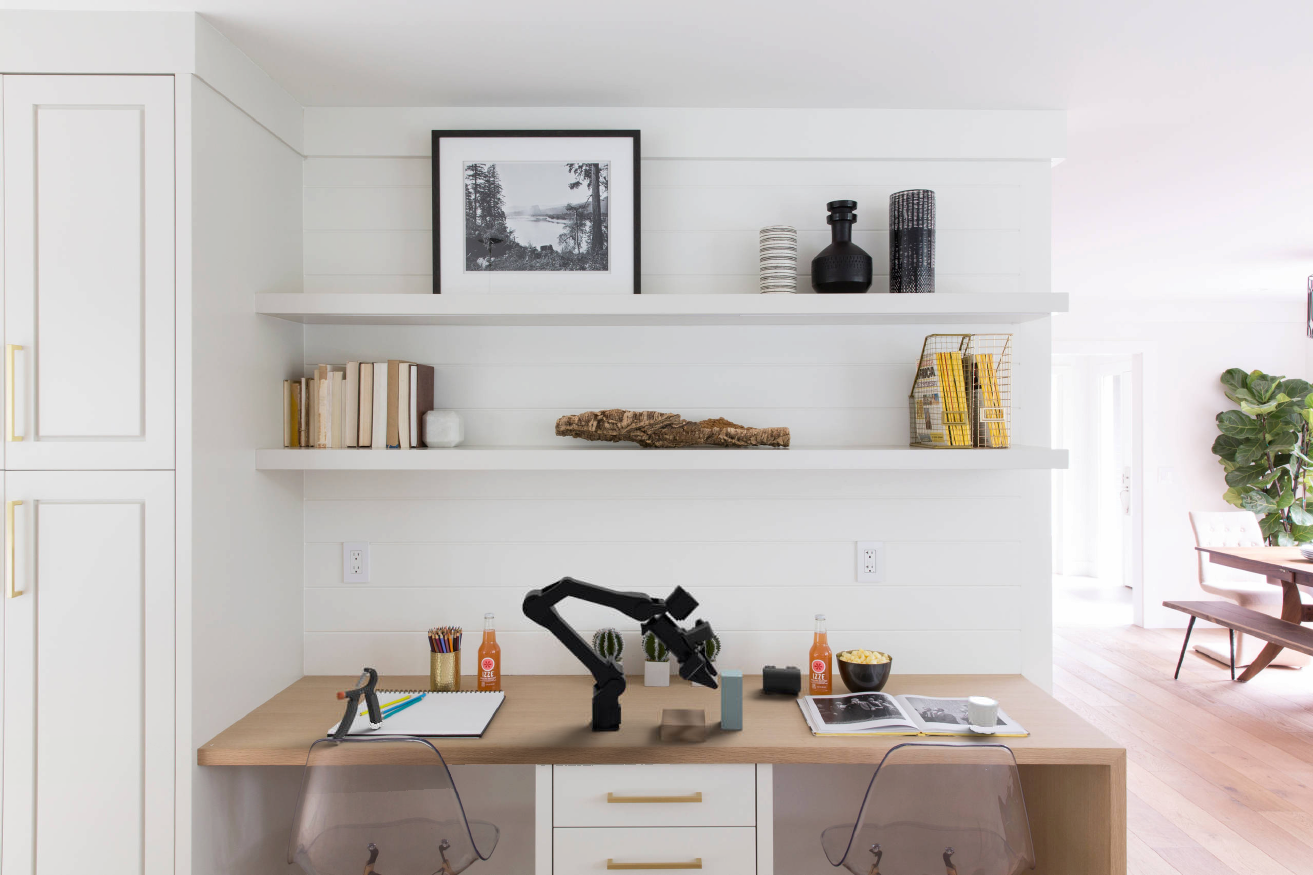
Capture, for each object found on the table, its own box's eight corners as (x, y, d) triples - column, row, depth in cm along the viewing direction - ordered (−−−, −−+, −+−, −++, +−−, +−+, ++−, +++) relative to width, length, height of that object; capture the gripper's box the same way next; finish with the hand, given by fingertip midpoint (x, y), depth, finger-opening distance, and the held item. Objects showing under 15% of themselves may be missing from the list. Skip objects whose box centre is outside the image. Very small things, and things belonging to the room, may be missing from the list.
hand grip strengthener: (330, 744, 169) (330, 677, 168) (376, 726, 179) (376, 663, 179) (336, 747, 167) (336, 679, 167) (383, 728, 178) (383, 664, 178)
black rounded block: (762, 696, 199) (762, 671, 199) (762, 687, 206) (762, 663, 206) (801, 698, 198) (801, 672, 198) (799, 689, 205) (799, 664, 205)
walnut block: (661, 742, 170) (661, 724, 170) (662, 725, 180) (662, 708, 180) (705, 743, 170) (705, 725, 170) (704, 726, 180) (704, 709, 180)
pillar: (721, 729, 177) (721, 676, 177) (720, 721, 182) (720, 669, 182) (742, 729, 177) (742, 676, 177) (741, 721, 182) (741, 670, 182)
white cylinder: (999, 727, 178) (1000, 698, 178) (996, 737, 172) (996, 707, 172) (968, 722, 181) (968, 693, 181) (964, 731, 175) (964, 701, 175)
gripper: (693, 621, 171) (742, 670, 170) (694, 602, 189) (738, 646, 189) (658, 655, 171) (707, 704, 171) (663, 633, 190) (707, 677, 189)
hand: (716, 681), depth 180 cm, fingers open, 9 cm apart
